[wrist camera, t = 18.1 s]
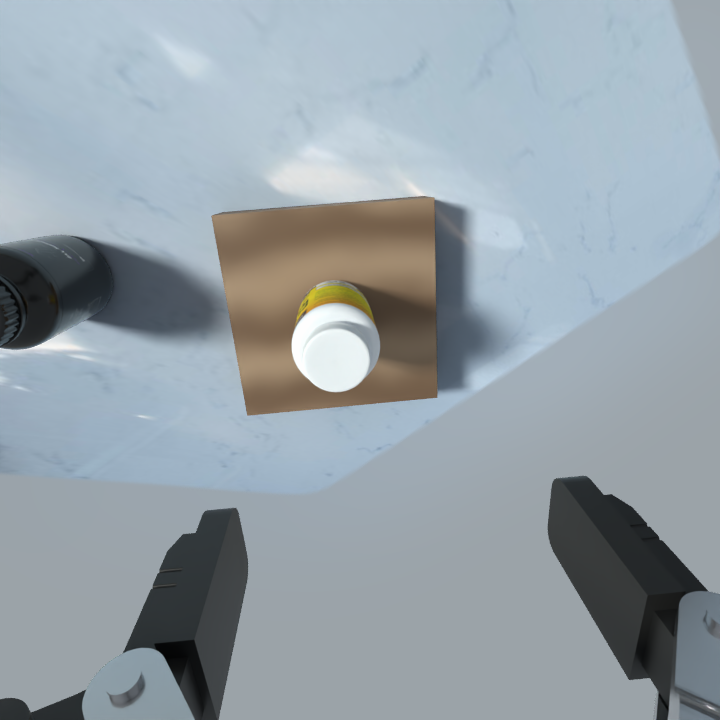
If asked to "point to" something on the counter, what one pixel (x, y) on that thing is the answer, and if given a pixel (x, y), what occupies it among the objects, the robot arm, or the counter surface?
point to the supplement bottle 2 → (335, 336)
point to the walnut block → (326, 263)
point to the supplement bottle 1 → (49, 288)
